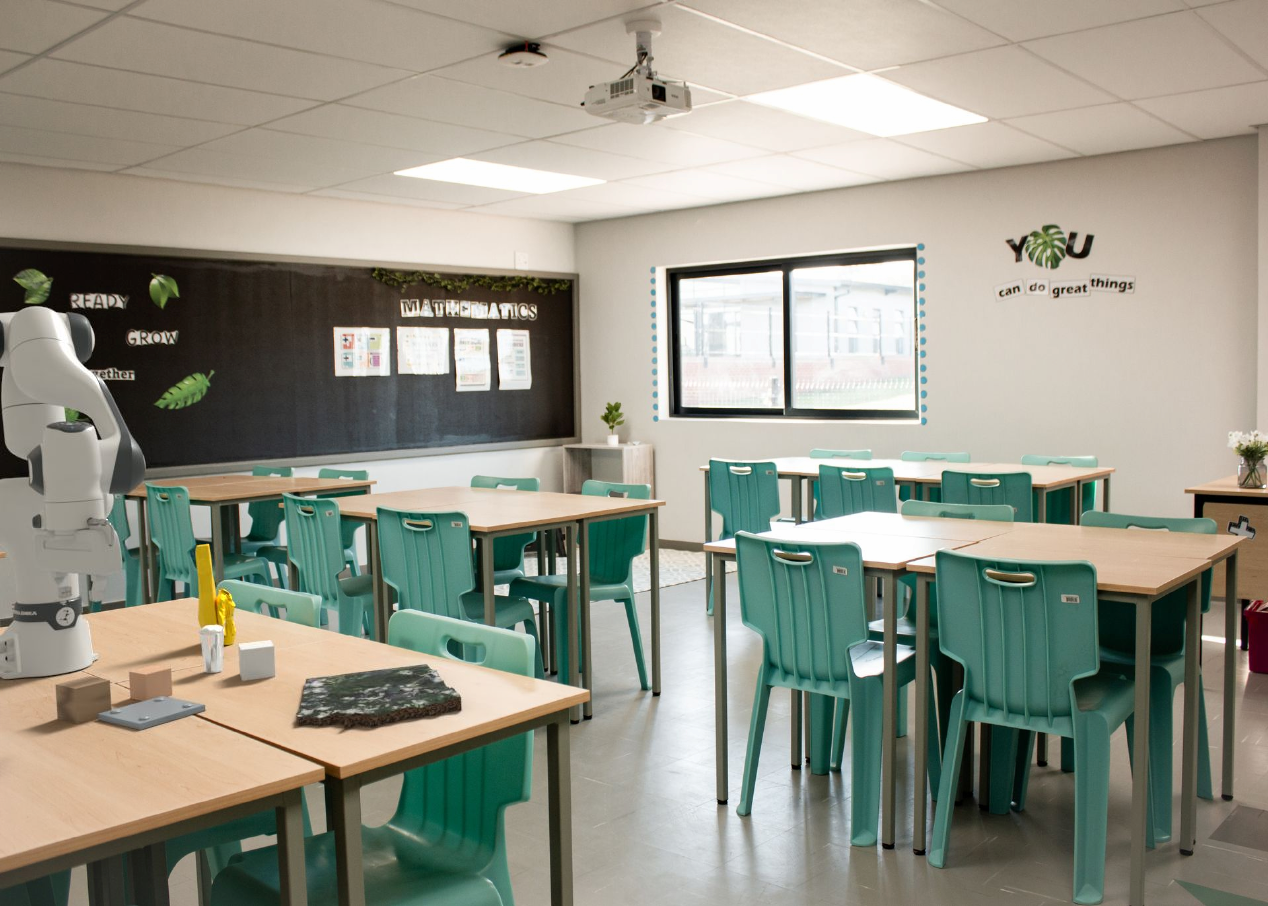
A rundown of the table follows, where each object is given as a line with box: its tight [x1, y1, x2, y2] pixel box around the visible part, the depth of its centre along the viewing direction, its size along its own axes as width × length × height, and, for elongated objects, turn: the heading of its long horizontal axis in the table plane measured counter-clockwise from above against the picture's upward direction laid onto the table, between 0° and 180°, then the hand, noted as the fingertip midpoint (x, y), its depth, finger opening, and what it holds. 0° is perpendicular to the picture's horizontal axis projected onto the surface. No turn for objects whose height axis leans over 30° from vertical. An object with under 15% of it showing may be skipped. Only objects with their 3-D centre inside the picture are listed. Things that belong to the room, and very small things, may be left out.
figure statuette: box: [195, 543, 237, 646], centre depth 234 cm, size 18×8×22 cm, turn 17°
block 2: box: [128, 664, 173, 702], centre depth 193 cm, size 5×5×5 cm
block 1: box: [55, 675, 112, 725], centre depth 181 cm, size 6×6×6 cm
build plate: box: [97, 696, 206, 731], centre depth 181 cm, size 12×12×1 cm
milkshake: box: [198, 621, 226, 674], centre depth 210 cm, size 4×5×10 cm
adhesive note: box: [237, 639, 276, 682], centre depth 206 cm, size 6×6×6 cm
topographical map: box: [296, 663, 463, 730], centre depth 187 cm, size 26×33×3 cm
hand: (80, 599), depth 180 cm, fingers open, 8 cm apart
